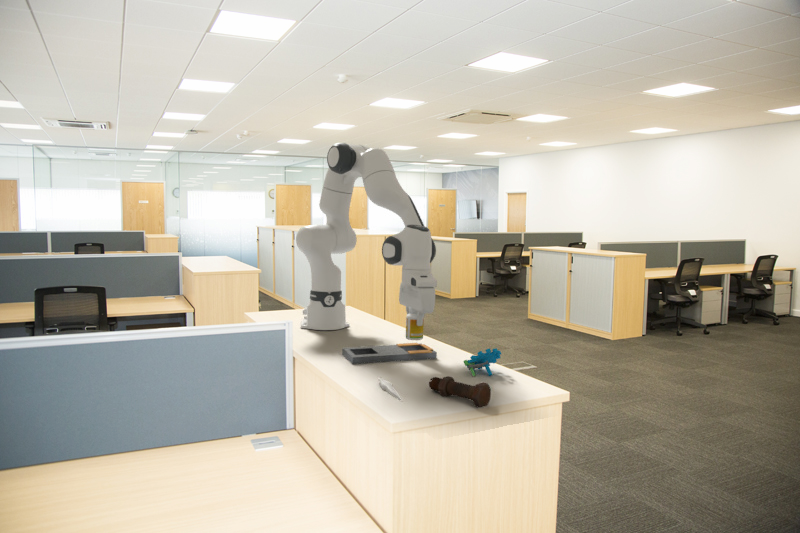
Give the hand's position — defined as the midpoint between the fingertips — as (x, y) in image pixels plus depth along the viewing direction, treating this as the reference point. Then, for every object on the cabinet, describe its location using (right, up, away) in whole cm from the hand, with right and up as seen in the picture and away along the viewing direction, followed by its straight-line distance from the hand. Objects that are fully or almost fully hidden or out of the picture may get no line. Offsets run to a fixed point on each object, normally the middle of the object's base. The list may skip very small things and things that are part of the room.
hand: (414, 323), depth 159 cm
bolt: (+9, -14, -38) cm, 42 cm away
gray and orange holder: (-8, -10, -2) cm, 13 cm away
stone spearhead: (-7, -13, -35) cm, 38 cm away
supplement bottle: (0, -5, 0) cm, 5 cm away
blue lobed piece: (+18, -12, -17) cm, 27 cm away
